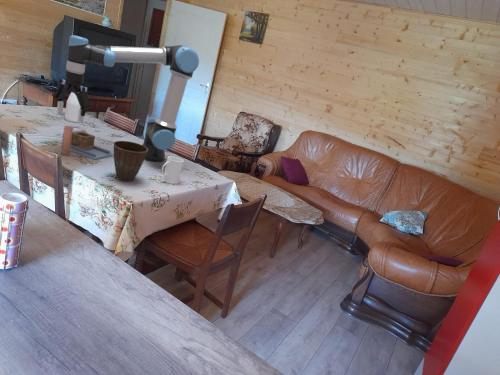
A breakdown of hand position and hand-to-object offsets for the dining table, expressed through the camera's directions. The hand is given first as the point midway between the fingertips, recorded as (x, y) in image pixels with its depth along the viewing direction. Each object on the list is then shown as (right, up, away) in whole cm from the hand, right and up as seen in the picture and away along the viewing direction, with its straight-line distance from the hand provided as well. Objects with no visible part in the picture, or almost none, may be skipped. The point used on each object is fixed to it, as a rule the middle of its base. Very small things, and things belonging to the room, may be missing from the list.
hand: (69, 118), depth 165 cm
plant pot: (+27, -29, -2) cm, 40 cm away
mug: (+44, -30, +11) cm, 54 cm away
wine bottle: (-32, +11, +65) cm, 73 cm away
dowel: (-5, -17, +5) cm, 18 cm away
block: (-3, -12, +18) cm, 21 cm away
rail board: (0, -14, +17) cm, 22 cm away
